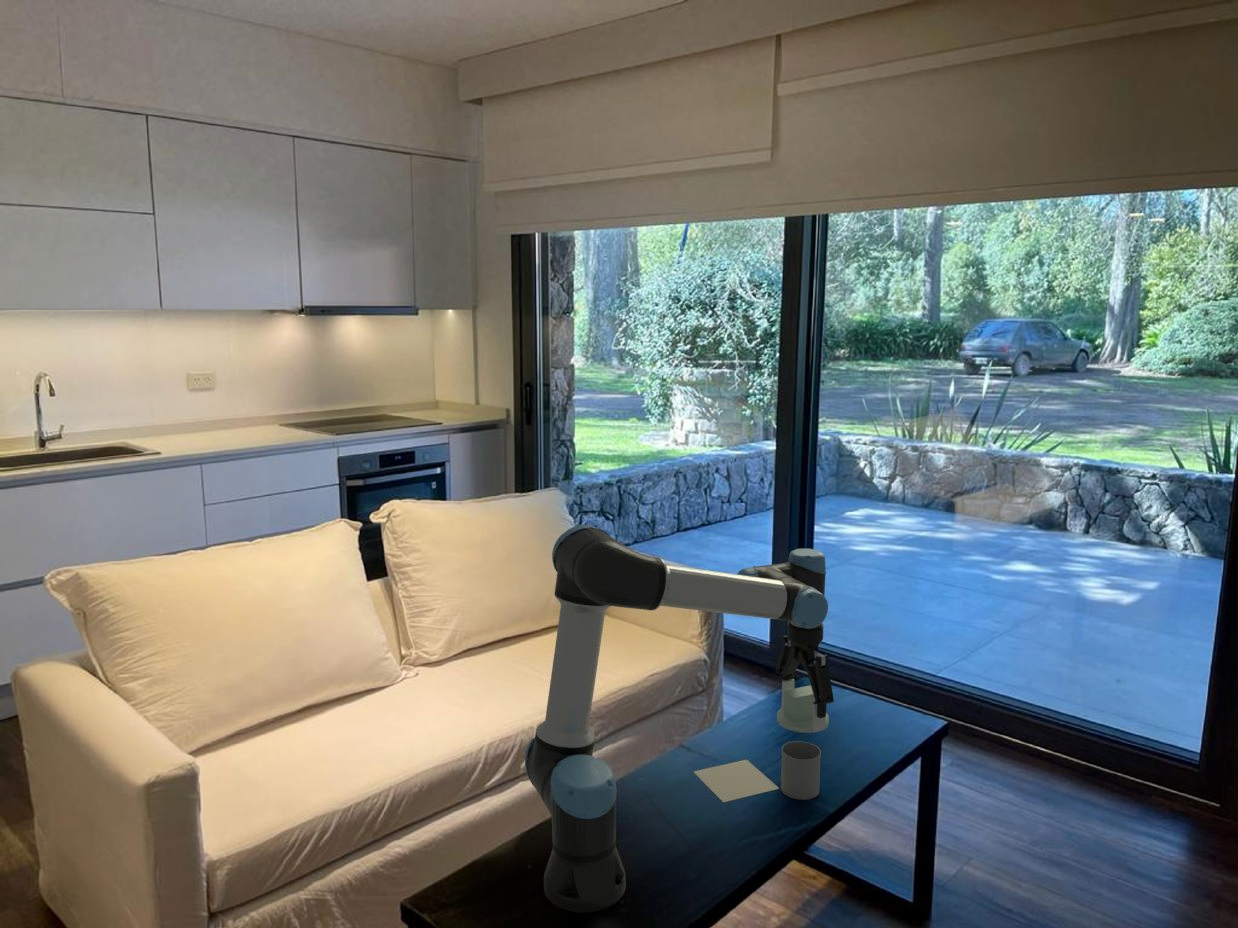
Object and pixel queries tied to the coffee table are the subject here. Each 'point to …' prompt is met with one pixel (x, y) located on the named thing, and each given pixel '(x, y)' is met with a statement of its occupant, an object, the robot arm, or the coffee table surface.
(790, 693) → the lid
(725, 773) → the mat
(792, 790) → the cup
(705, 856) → the coffee table surface
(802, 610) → the robot arm
